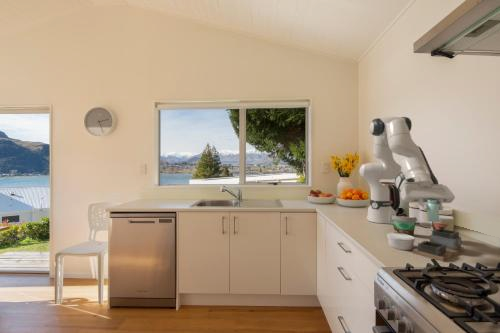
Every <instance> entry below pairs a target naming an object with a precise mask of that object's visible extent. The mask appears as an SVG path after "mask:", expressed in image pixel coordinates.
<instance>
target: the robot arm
mask: <svg viewBox="0 0 500 333" xmlns="http://www.w3.org/2000/svg"><path fill="white" fill-rule="evenodd" d="M412 125H413V124H412V120H411V118H410V117H407V116H390V117H389V116H388V117H382V118H374V119H372V121H371V122H370V125H369V131H370V134H371V135H372V136H374V138H373V147H372V148H373V150H372V155H373V156H374V157H376V158H377V159H379V160H381V162H367V163H362V164H361V166H360V168H359V171H358V173H359V175H360V177H361V178H363V179H364V181H366V182H367V184H368V185H369V190H370V200H369V206H368V209H367V216H366V217H365V219H366V220H367V221H369V222H372V223H376V224H390V225H393V219H392V216H393V215H394V216H397V212H396V210H395V209H394V208H393V207H392V206H391V204H393V200H390V189H389V187H388V186H386V185H385V184H383V183H381V182H380V180H389V181H390V180H394V185H395V188H396V190H397V191H398V192H399V193H400V196H401V200H402V201H403V202H405V203H418V204H417V205H420V206H421V207H422V208H423V210H424V211H427V210H429V205H427V199H435V200H439V211H443V210H444V206H443V204H444V203H445V204H451V203H452V202H453V201H454V200H455V198H456V196H455V194H454V193H453V192H452V190H450V188H449V187H448V186H447V185H444V184H442V183H439V180H438V179H437V177H436V176H435V174H434V172H433V171H432V169H431V166H430V164H429V161H428V159H427V157H426V155H425V153H424V151H423V150H422V149H423V148H421V147H420V146H418V145H417V144H416V143H415V141H414V140H413V139H412V135H411V130H412ZM393 153H394V154H396V155H398V156H402V157H405V158H404V159H402V160H401V162H400V164H399V163H398V162H397V161H396V160H395V159H394V155H393Z"/></svg>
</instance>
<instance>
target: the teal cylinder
mask: <svg viewBox="0 0 500 333" xmlns="http://www.w3.org/2000/svg"><path fill="white" fill-rule="evenodd" d="M426 204H427V205H429V210H426V211H427V212H426V213H427V215H426V216H427V220H426V221H427V222H431V223H432V222H439V215H440V210H439V200H435V199H427V202H426Z"/></svg>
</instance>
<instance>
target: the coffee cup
mask: <svg viewBox="0 0 500 333" xmlns="http://www.w3.org/2000/svg"><path fill="white" fill-rule="evenodd" d="M454 227H455V218H454V217H453V216H448V215H441V214H439V222H431V228H432V229H431V230H432V231H433V230H436V229H445V230H450V231H454ZM432 231H431V232H432Z"/></svg>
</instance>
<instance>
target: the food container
mask: <svg viewBox="0 0 500 333" xmlns="http://www.w3.org/2000/svg"><path fill="white" fill-rule="evenodd" d="M392 219H393V224H392V225H393V233H402V234H407V235H410V236H413V237H414V235H415V229H416V222H418V218H417V216H415V217H408V216H398V215H396V216H394V215H393V216H392Z"/></svg>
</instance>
